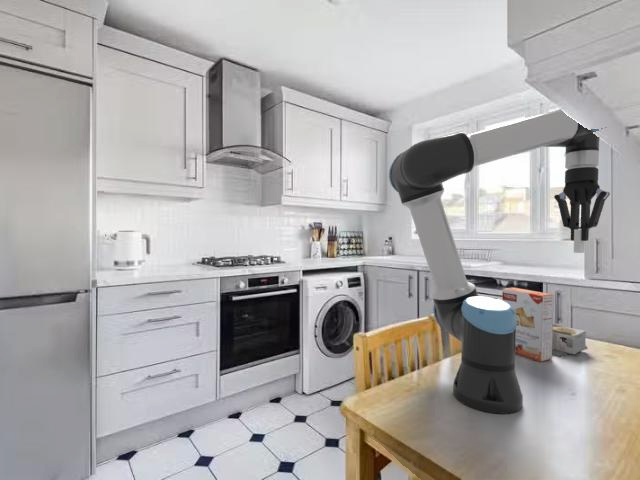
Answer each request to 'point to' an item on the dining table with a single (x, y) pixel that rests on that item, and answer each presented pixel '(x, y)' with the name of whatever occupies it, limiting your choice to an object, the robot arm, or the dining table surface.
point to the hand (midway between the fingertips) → (579, 252)
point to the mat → (559, 353)
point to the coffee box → (568, 339)
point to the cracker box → (532, 322)
